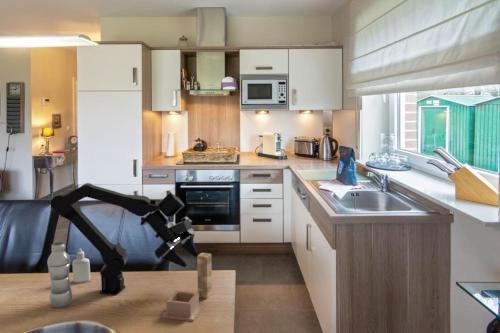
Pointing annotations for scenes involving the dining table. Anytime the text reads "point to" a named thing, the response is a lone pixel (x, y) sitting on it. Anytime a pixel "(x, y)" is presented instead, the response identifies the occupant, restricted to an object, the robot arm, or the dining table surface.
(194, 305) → the holder cup
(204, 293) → the wooden block
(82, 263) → the eye dropper bottle
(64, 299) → the plastic bottle
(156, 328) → the dining table surface
